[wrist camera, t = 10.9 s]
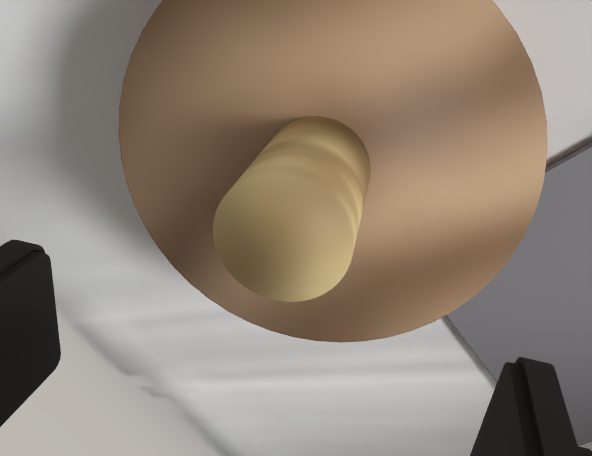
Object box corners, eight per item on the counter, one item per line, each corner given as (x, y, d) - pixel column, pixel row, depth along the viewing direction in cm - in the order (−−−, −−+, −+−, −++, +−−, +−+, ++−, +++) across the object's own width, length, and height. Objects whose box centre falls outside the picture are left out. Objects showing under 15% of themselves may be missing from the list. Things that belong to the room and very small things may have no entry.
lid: (624, 214, 20) (718, 328, 14) (290, 377, 26) (251, 504, 20) (372, -199, 16) (344, -302, 10) (56, 112, 23) (-79, 168, 16)
